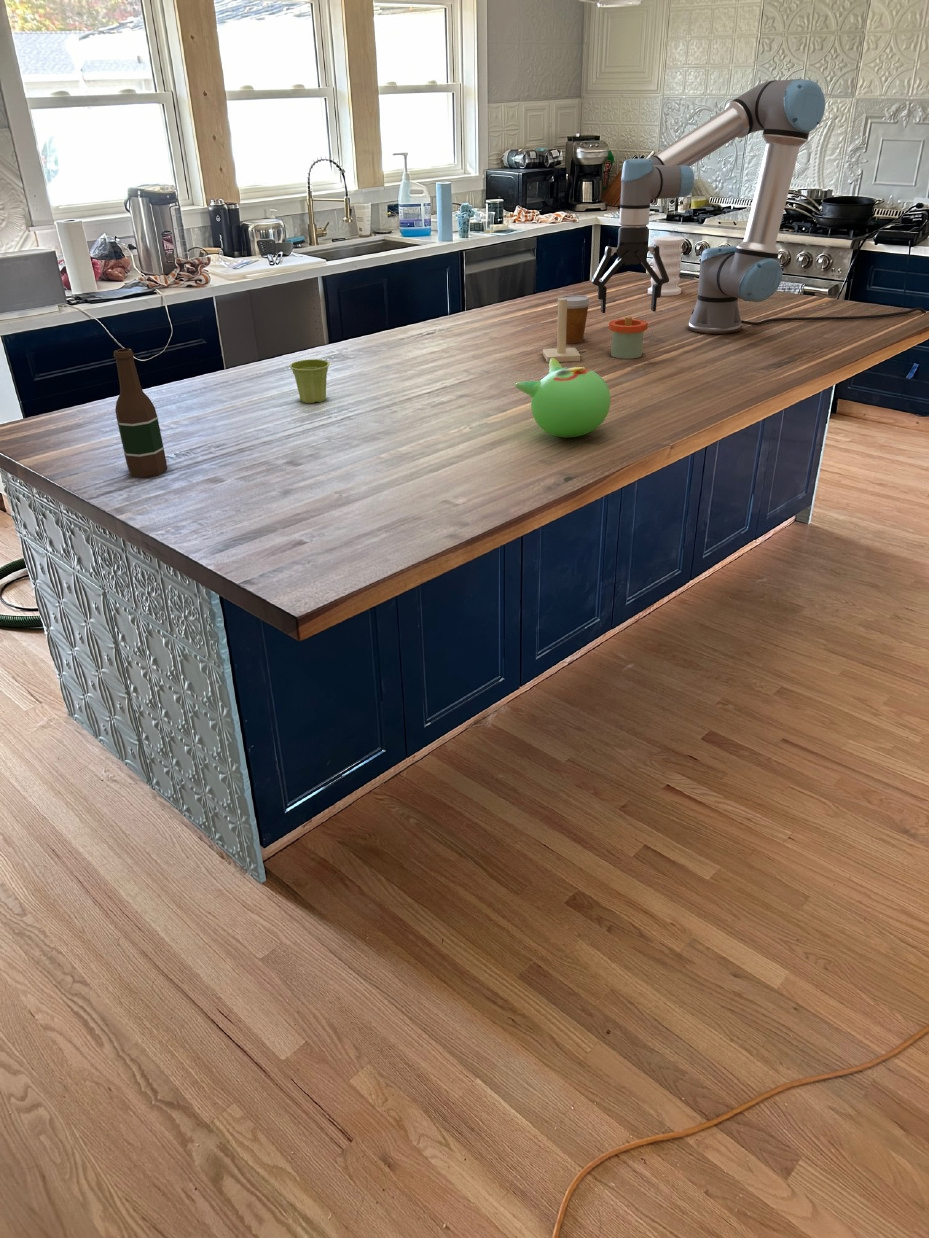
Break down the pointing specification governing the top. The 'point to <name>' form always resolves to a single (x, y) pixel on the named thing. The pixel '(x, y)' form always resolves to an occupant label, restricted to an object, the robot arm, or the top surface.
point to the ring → (622, 328)
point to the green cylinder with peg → (627, 343)
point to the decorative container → (668, 263)
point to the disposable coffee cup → (576, 317)
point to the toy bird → (568, 400)
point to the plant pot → (311, 379)
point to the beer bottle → (137, 422)
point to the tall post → (561, 338)
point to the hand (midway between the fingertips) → (628, 311)
